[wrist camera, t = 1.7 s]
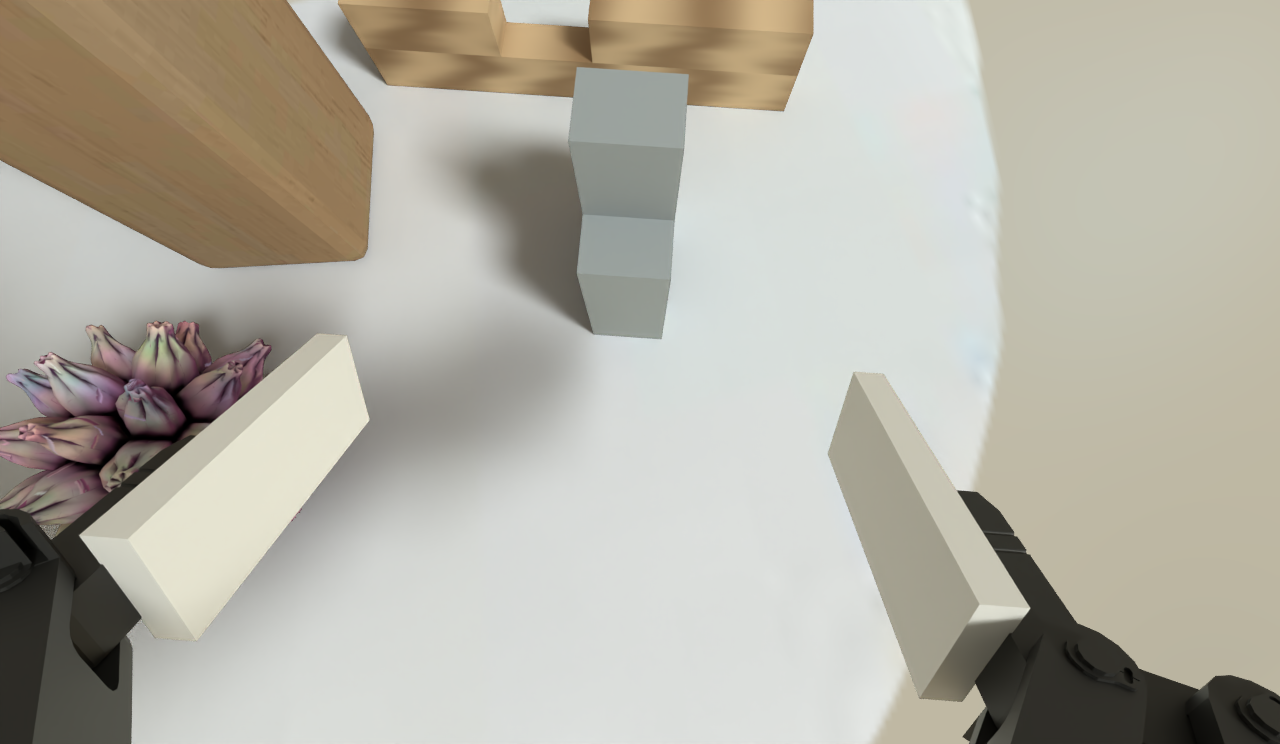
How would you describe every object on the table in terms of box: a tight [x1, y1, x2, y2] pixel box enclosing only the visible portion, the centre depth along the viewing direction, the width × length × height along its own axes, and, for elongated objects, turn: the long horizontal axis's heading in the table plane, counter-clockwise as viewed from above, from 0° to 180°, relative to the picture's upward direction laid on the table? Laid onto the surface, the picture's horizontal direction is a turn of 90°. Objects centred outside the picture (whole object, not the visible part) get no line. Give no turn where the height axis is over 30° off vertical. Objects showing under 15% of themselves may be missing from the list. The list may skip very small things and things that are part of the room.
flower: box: [0, 321, 302, 537], centre depth 24 cm, size 12×12×12 cm
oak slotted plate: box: [338, 0, 813, 111], centre depth 32 cm, size 26×2×6 cm, turn 86°
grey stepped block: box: [568, 67, 689, 339], centre depth 26 cm, size 8×4×14 cm, turn 176°
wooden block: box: [0, 0, 374, 268], centre depth 24 cm, size 10×10×20 cm
